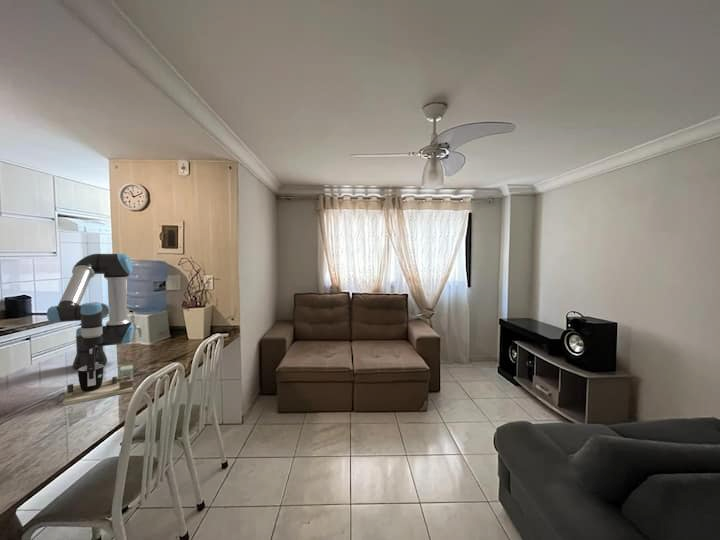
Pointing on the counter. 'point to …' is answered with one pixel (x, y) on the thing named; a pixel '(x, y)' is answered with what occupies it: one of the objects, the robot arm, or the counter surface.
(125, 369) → the block
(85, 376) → the mug
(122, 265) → the robot arm
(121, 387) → the board
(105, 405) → the counter surface
